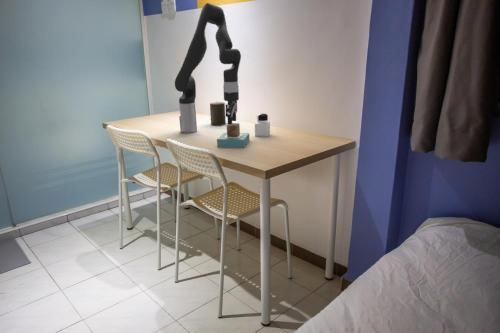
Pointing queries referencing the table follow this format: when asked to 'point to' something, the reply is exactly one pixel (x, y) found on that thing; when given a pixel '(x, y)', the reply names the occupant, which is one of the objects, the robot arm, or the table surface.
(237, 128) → the walnut block
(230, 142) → the teal base
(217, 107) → the pillar candle
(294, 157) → the table surface
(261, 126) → the medicine bottle
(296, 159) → the table surface
